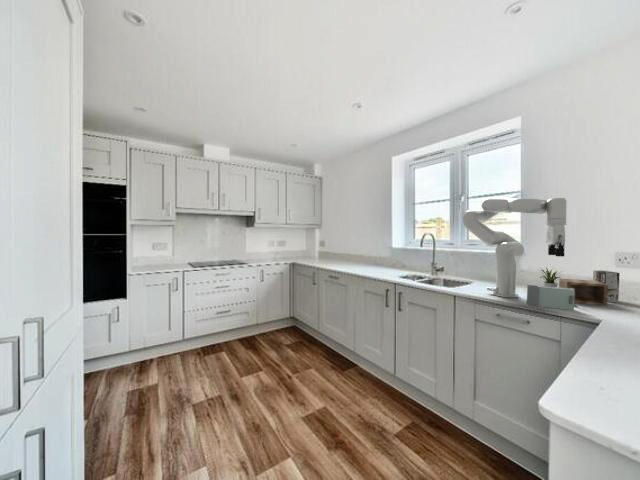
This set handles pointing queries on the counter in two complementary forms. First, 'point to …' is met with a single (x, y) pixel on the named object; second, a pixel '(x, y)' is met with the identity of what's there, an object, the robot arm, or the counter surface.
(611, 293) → the coffee box
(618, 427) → the counter surface
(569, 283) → the cabinet
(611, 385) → the counter surface
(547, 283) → the house plant
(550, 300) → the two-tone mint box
